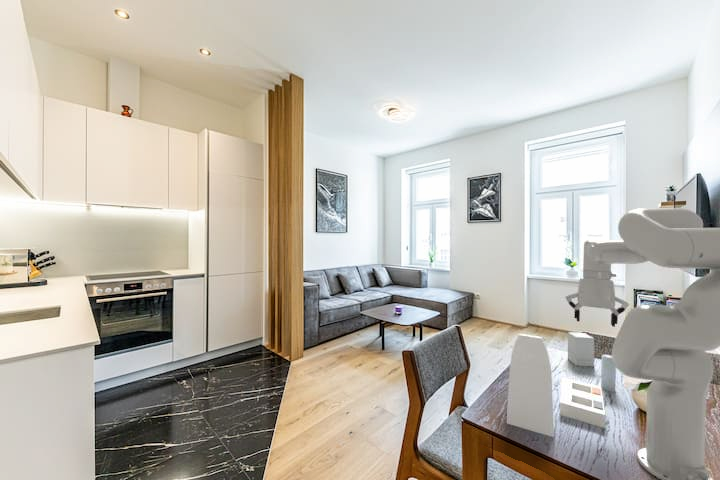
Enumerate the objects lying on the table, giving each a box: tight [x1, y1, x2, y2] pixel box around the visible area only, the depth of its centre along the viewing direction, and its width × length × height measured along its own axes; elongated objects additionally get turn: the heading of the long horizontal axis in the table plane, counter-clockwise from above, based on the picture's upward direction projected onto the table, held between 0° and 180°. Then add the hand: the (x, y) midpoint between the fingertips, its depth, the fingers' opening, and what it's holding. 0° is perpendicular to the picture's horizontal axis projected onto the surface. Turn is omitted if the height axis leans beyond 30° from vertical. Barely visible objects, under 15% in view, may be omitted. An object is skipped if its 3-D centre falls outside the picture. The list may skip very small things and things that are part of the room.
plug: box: [600, 354, 617, 393], centre depth 108 cm, size 4×4×12 cm
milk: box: [506, 333, 555, 438], centre depth 90 cm, size 12×12×26 cm
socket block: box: [559, 377, 606, 429], centre depth 97 cm, size 20×11×4 cm, turn 143°
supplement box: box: [567, 331, 595, 367], centre depth 129 cm, size 7×7×13 cm
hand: (595, 322), depth 103 cm, fingers open, 9 cm apart
